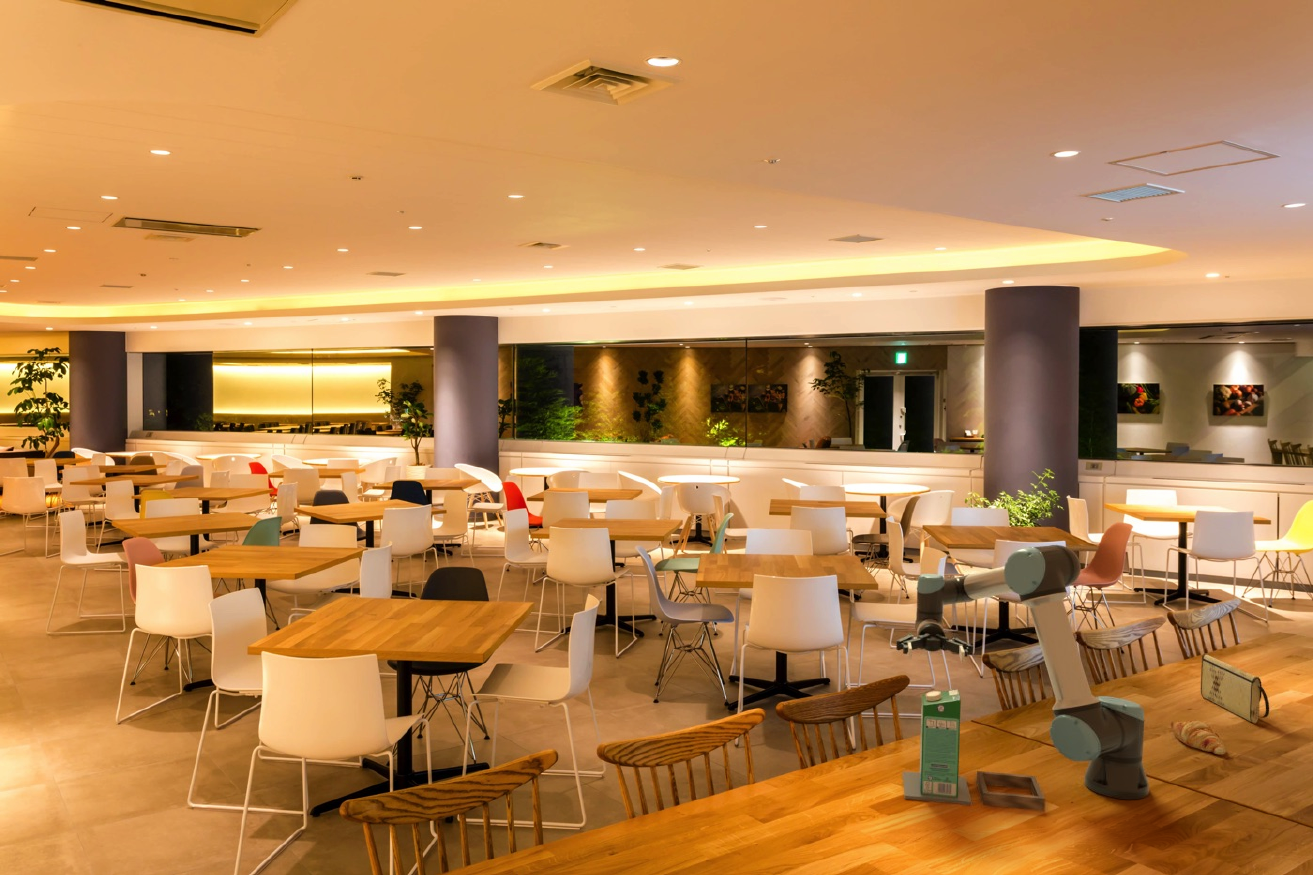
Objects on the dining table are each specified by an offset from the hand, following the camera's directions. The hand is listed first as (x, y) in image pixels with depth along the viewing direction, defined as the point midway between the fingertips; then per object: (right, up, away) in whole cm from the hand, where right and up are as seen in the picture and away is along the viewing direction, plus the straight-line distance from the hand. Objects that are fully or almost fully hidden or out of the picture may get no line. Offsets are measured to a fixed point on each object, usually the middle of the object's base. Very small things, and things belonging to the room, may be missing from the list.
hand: (936, 655), depth 263 cm
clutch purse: (+113, -31, +58) cm, 130 cm away
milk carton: (-3, -32, -10) cm, 34 cm away
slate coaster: (-3, -33, -9) cm, 34 cm away
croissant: (+84, -32, +26) cm, 93 cm away
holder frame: (+15, -33, -12) cm, 38 cm away
